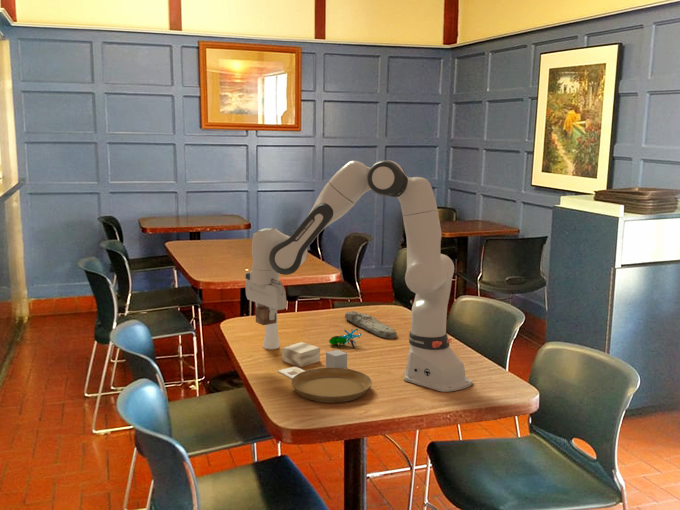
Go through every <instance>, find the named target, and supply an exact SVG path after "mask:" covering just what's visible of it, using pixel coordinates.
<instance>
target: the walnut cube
mask: <svg viewBox="0 0 680 510" xmlns="http://www.w3.org/2000/svg"><path fill="white" fill-rule="evenodd" d="M269 313H270V310H269V307H267V306H265V305H262V307H256V306H255V323H257V324H259V325H262V326H265V325H268V324H274V323H276V313H275V319H274V320H269V319H268V314H269Z"/></svg>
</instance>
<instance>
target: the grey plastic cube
mask: <svg viewBox="0 0 680 510" xmlns="http://www.w3.org/2000/svg"><path fill="white" fill-rule="evenodd" d="M325 368H345V369H348V353H347V352H344V351H342V350H340V349H335V350H331V351H326V352H325Z"/></svg>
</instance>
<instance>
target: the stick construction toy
mask: <svg viewBox="0 0 680 510" xmlns="http://www.w3.org/2000/svg"><path fill="white" fill-rule="evenodd" d="M356 331H359V329H358V328H355V329H354V330H353V329H351V332H348V330H346V329H344V333H346V335H334V336H332V337H331V338H330V339H329V340H328V343H330V345H337V346H338V348H341V347H342V346H341V345H343V346H344V345H345V344H349V343H351V347H352V349H355V348H356V347H355V344H356V341H355V340H354V339H355V338H358V339H360V337H361V336H362V333H361V332H360V333H359V334H354V333H355V332H356Z"/></svg>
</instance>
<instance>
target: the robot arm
mask: <svg viewBox="0 0 680 510" xmlns="http://www.w3.org/2000/svg"><path fill="white" fill-rule="evenodd" d="M324 185H325V186H324V187H323V188H322V190H321V192H320V193H319V195H318V197H317V198H316V200H315V202H314V204H313V206H312V208H311V209H310V211H309V213H308V215H307V216H306V217H305V218H304V220H303V221H302V223H300V225H299V226H298V227H297V228H296V229H295V231H294V232H293V233H292V234H291V235H290V236H289V235H287V234H285V233H283V232H281V231H279V229H277V228H275V227H266V228H261V229H258V230H256V231H255V232H254V233H253V235H252V240H251V258H252V266H251V270H250V271H248V272H245V273H244V279H245V296H246V299H247V300H248V301H251V302H254V304H255V308H256V307H262V306H267V307H269V310H270V313H269V314H268V319H269V320H274V319H275V313H276V311H277V312H278V311H280V310H281V311H282V310H285V309H286V307H287V294H286V293H287V292H286V288H285V287H284V284H283V283H282V281H280V275H284V276H286V275H287V276H289V275H292V274H294V273H296V271H298V269H299V268H300V266H301V265H303V263H305V261H306V260H307V258H308V254H309V253H308V250H309V249H308V248H309V246H310V245H311V244H312V243H313V242H314V241H315V239H316V238H317V237H318V236H319V234H320V233H321V232H322V231H323V230H325V229H326V228H327V227H329V226H330V225H331V224H333V223H334V222H336V221H338V220H340V219H341V218H342V217H343V216H345V215H346V214H347V213H348V212H349V211H350V210H351V209H352V208H353V207H354V206H355V204H356V203H357V202H358V201H359V200H360V199H361V197H362V196H364V194H365V193H367V192H370V191H372V192H373V193H374V194H377V195H379V196H383V197H392V198H396V199H397V200H398V201H399V203H400V204H399V205H400V208H401V213H402V219H403V220H402V221H403V228H404V231H405V232H404V233H405V237H406V271H405V274H404V275H405V276H404V280H405V284H406V286H407V288H408V289H409V290H410V292H412V293H414V294H415V296H414V301H413V304H412V307H411V317H410V318H411V319H410V321H411V323H410V331H409V334H408V342H409V348H408V349H409V350H408V355H407V362H406V366H405V370H404V373H403V374H404V377H403V381H405V382H408V383H412V384H415V385H418V386H421V387H424V388H425V387H426V388H427V389H428V388H429V389H432V390H435V391H439V392H442V393H444V392H447V393H449V392H455V391H459V390H463V389H467V388H468V387H471V386H472V384H473V379H471V378H469V377H467V376H466V368H465V365H464V362H463V361H462V360H461V359H460V358H459V357H458V355H457V354H456V353H455V352H454V350H453V349H452V348H451V347H450V343H453V341H452V340H453V338H448V334H447V315H448V314H447V313H448V304H449V300H450V295H451V289H452V283H453V282H452V281H453V276H454V273H455V265H454V261H453V260H452V259H451V258H450V257H449V256H448V255H447V254H443V253H441V244H442V242H441V241H442V234H443V233H442V228H441V222H440V216H439V210H438V206H437V200H436V197H435V194H434V190H433V187H432V184H431V183H430V181H429V179H427V178H424V177H421V176H413V177H409V176H407V174H406V172H405V170H404V168H403V167H402V166H401V165H400V164H399V163H397V162H395V161H392V160H388V159H387V160H386V159H385V160H384V159H383V160H379V161H377V162H375V163H374V164H373V165H372V166H371V167H370V166H367V165H366V164H364V163H363V162H361V161H358V160H350V161H348V162H347V163H345V165H343V166H342V167H341V168H340V169H339V170H337V171H336V173H334V175H332V177H331V178H330V179H329V181H328V182H327V183H326V184H324Z"/></svg>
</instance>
